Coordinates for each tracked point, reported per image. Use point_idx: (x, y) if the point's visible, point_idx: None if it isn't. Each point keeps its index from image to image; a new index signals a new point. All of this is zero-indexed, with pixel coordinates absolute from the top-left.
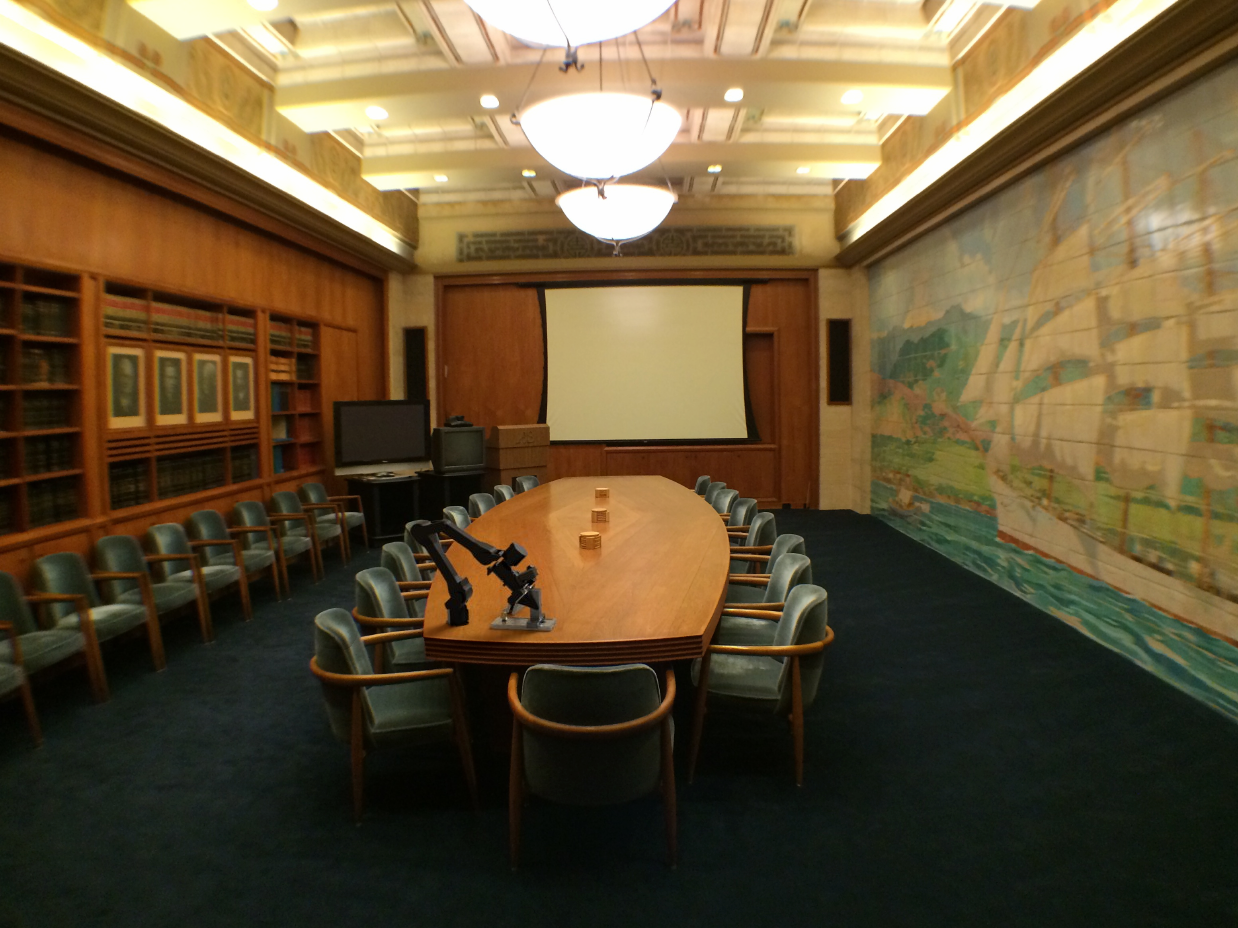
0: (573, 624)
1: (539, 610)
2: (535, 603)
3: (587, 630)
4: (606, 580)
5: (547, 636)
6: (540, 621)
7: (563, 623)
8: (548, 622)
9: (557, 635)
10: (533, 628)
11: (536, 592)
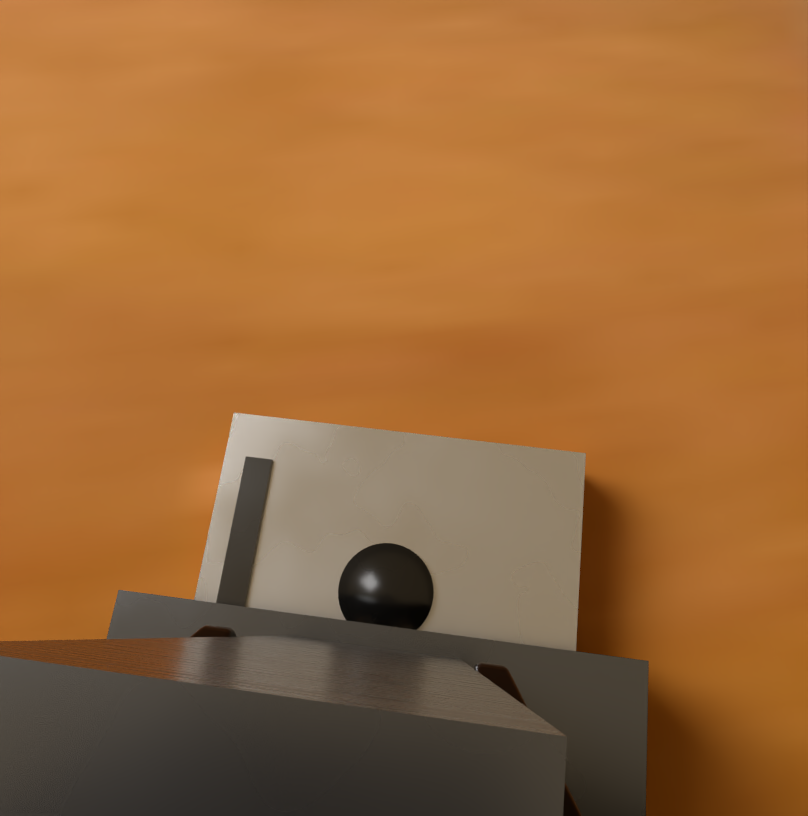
0: (325, 218)
1: (432, 661)
2: None
3: (535, 63)
4: None
5: (798, 488)
6: None
7: (278, 337)
8: (401, 511)
9: (741, 363)
10: None
11: None
